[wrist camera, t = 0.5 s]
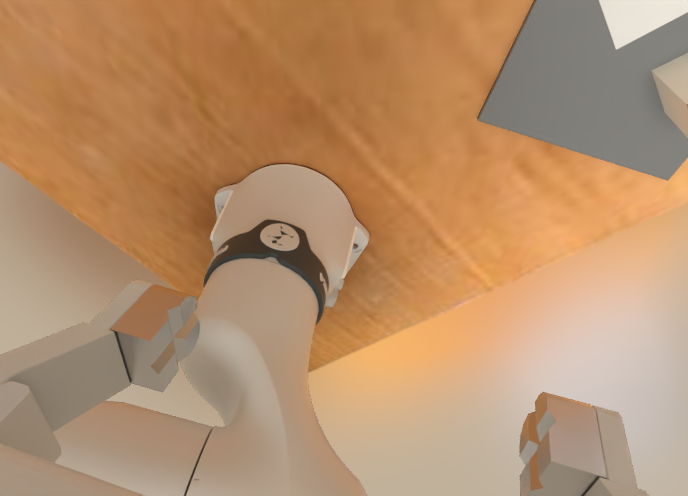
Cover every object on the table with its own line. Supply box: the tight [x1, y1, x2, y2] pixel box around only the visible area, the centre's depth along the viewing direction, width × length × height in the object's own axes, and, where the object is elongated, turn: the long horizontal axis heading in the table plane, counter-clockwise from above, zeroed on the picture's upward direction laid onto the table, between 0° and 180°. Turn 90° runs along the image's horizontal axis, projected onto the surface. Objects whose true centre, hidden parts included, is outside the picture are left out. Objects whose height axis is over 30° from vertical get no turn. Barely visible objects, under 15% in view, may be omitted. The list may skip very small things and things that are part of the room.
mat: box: [478, 0, 688, 180], centre depth 38 cm, size 26×22×1 cm
